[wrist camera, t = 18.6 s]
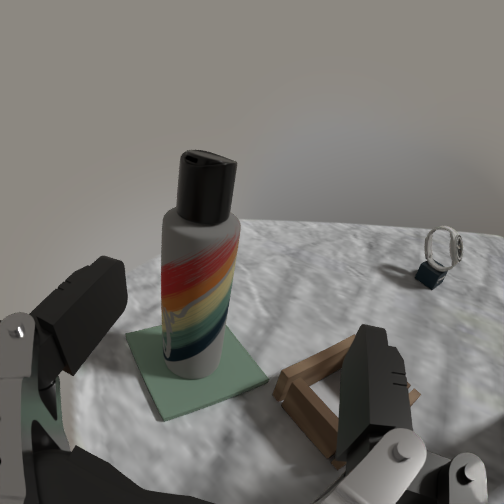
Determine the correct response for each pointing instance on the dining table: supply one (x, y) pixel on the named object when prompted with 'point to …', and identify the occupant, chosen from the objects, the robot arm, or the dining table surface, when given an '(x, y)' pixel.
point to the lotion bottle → (198, 264)
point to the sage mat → (192, 390)
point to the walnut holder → (316, 397)
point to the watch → (431, 269)
